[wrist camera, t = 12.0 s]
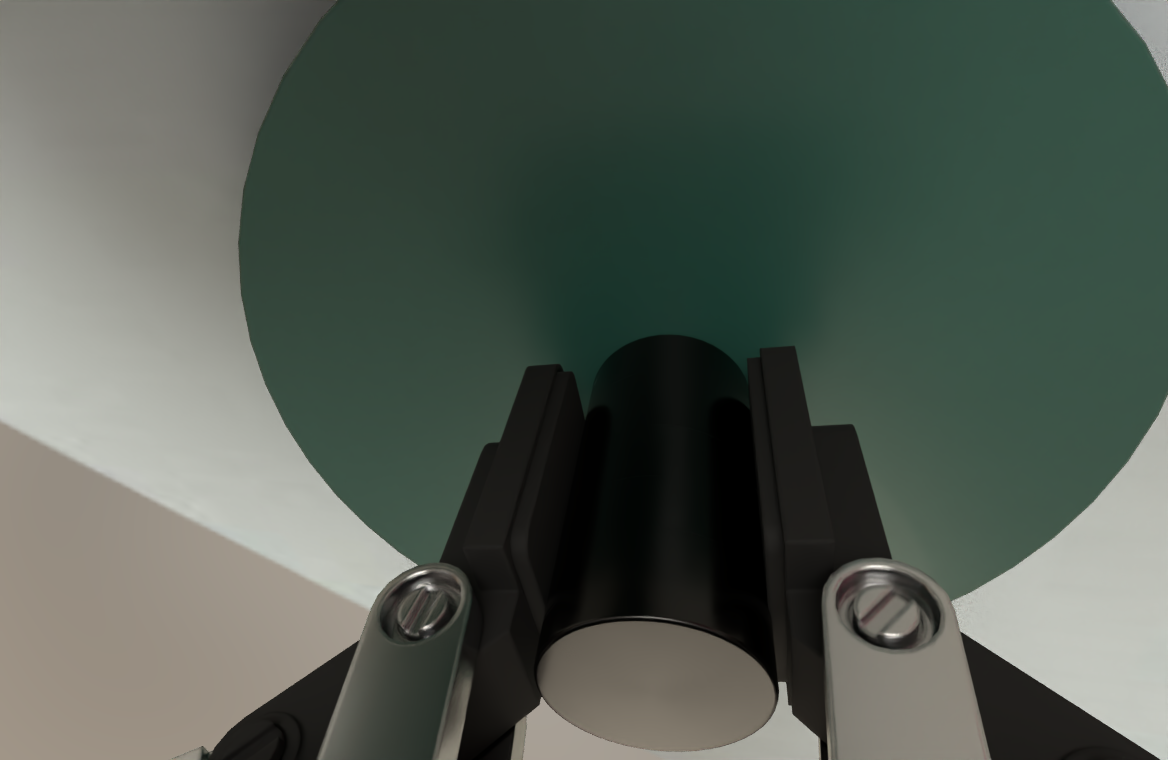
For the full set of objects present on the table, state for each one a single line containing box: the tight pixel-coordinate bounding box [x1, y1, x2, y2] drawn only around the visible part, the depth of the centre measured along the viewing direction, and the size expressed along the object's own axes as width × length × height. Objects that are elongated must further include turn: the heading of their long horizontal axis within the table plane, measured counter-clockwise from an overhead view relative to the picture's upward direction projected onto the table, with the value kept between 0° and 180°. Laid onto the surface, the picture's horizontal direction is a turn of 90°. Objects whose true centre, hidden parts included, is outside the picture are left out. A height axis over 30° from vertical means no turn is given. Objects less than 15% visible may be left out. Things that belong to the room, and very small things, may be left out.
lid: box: [238, 0, 1168, 751], centre depth 10 cm, size 16×16×7 cm
